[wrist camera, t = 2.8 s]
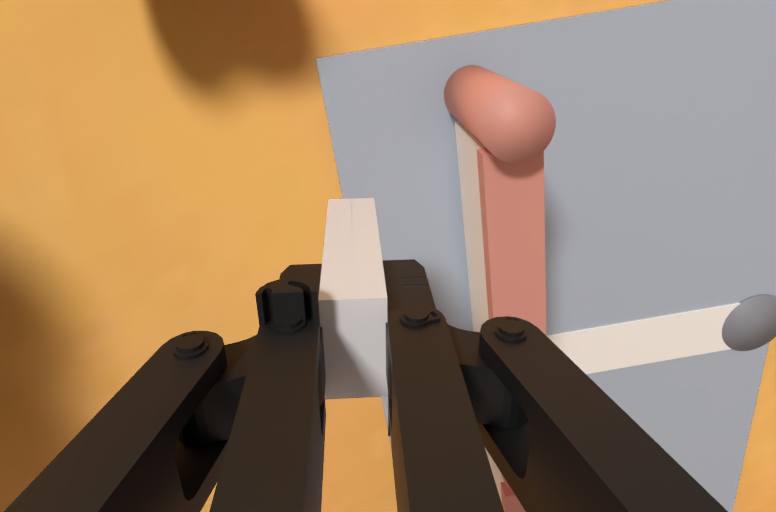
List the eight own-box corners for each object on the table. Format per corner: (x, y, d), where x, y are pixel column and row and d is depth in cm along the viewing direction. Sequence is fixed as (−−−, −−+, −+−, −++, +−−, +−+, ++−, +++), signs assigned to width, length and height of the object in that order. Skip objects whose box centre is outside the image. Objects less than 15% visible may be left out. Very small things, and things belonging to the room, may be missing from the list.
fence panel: (509, 339, 27) (556, 433, 21) (467, 347, 27) (503, 443, 21) (494, 60, 21) (555, 83, 15) (441, 69, 21) (481, 95, 15)
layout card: (415, 569, 36) (416, 577, 36) (316, 58, 22) (315, 59, 21) (735, 513, 37) (740, 519, 36) (854, -31, 22) (866, -31, 21)
